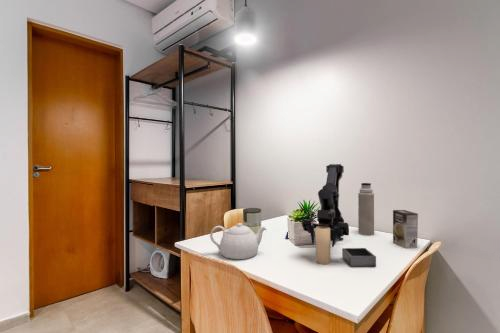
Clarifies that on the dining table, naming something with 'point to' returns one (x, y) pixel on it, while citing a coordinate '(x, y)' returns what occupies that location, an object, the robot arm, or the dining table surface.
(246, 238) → the teapot
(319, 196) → the robot arm
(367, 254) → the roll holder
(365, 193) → the thermos bottle
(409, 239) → the coffee box
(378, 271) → the dining table surface
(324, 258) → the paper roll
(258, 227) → the coffee can
